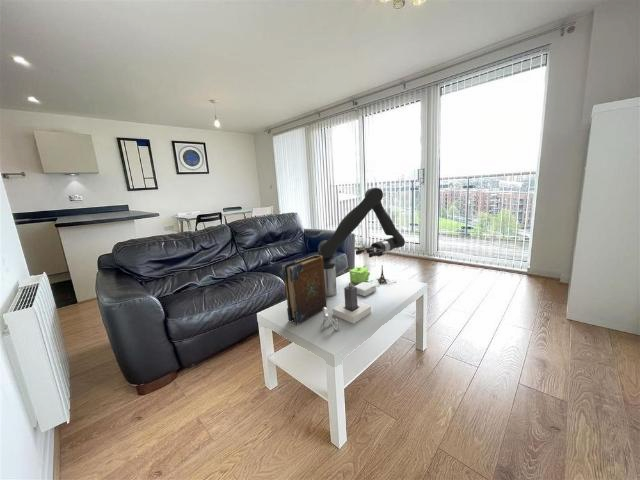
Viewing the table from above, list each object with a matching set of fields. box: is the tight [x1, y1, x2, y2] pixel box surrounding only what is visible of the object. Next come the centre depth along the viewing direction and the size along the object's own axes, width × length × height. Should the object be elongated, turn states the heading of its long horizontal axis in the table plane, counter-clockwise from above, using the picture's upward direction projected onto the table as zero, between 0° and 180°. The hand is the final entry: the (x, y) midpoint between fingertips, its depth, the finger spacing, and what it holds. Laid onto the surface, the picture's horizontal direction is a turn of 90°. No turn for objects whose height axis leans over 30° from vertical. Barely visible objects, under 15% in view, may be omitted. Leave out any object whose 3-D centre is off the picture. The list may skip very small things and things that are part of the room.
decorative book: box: [281, 254, 328, 326], centre depth 133 cm, size 23×7×30 cm, turn 137°
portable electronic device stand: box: [321, 307, 340, 332], centre depth 121 cm, size 9×8×8 cm
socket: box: [332, 301, 372, 324], centre depth 133 cm, size 14×14×4 cm
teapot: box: [348, 264, 371, 285], centre depth 173 cm, size 15×13×11 cm
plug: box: [343, 282, 358, 312], centre depth 131 cm, size 4×4×16 cm
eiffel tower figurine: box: [369, 264, 397, 285], centre depth 170 cm, size 15×10×13 cm
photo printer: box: [353, 281, 377, 297], centre depth 158 cm, size 10×4×12 cm
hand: (362, 254), depth 134 cm, fingers open, 8 cm apart
